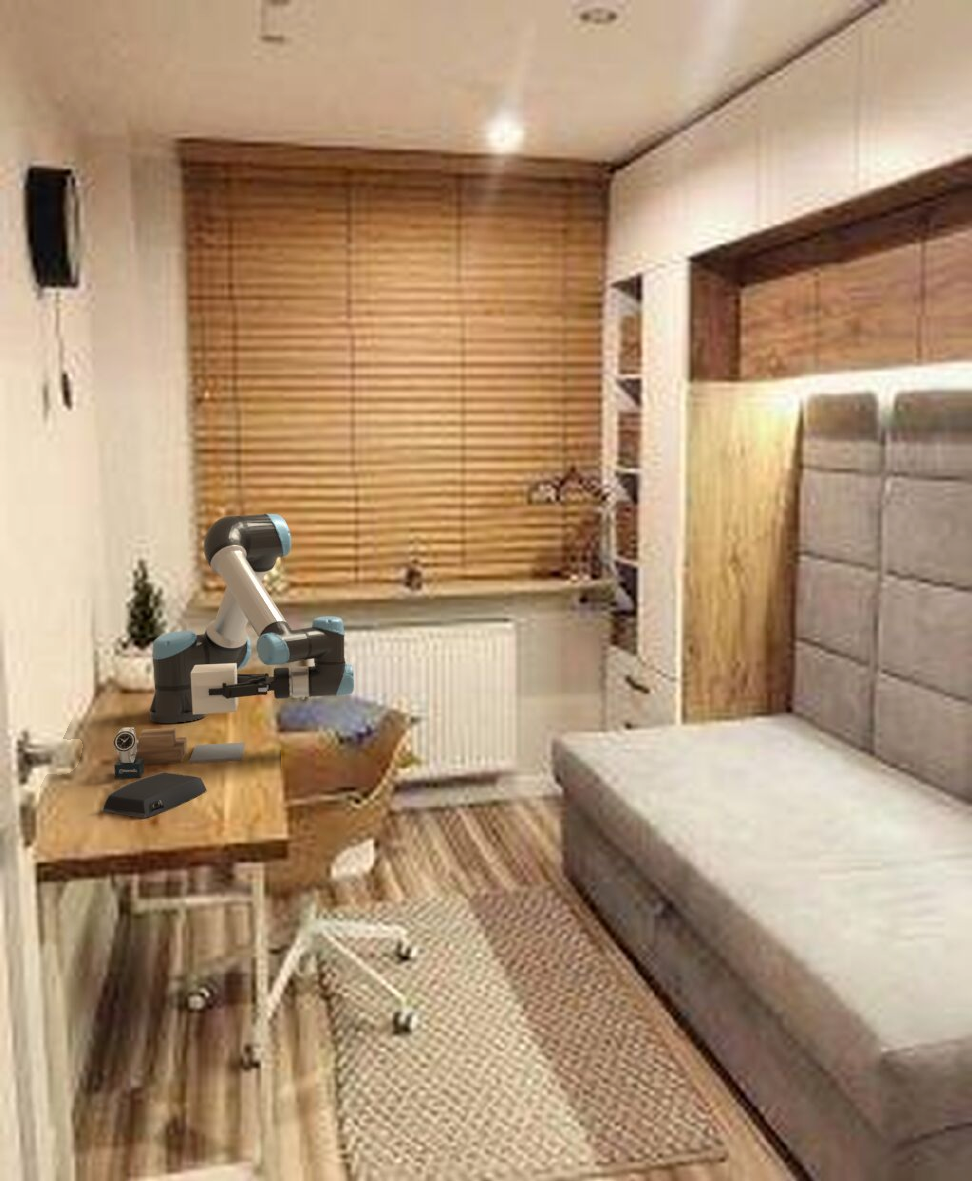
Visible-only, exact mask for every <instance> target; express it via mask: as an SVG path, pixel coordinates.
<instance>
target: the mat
mask: <svg viewBox="0 0 972 1181" xmlns="http://www.w3.org/2000/svg"><path fill="white" fill-rule="evenodd" d="M245 745H246V744H245V742H228V743H226V742H224V743H211V744H210V743H206V744H195V746H194V747H193V750H192V753H191V756H190V758H189V764H195V763H196V764H197V763H212V762H214V763H216V762H232V761H234V762H235V761H242V758H243V754H244V750H245Z"/></svg>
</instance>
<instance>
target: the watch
mask: <svg viewBox="0 0 972 1181" xmlns="http://www.w3.org/2000/svg"><path fill="white" fill-rule="evenodd" d="M137 743H138V739H137V734H136V729H135V728H134V726H133V727H132V726H131V727H122V728H121V729H120V730H119V731H118V732H117V734H116V735H115V736H114V739H113V746H114V749H115V750H116V754H117V756H119V759H118V760H117V761H116V763H114V766H113V767H114V779H131V778H132V779H134V778H137V779H138V778H141V777H142V776H143V774H144V773H145V764H144V761H143V759H135V756H136V752H137Z"/></svg>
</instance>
